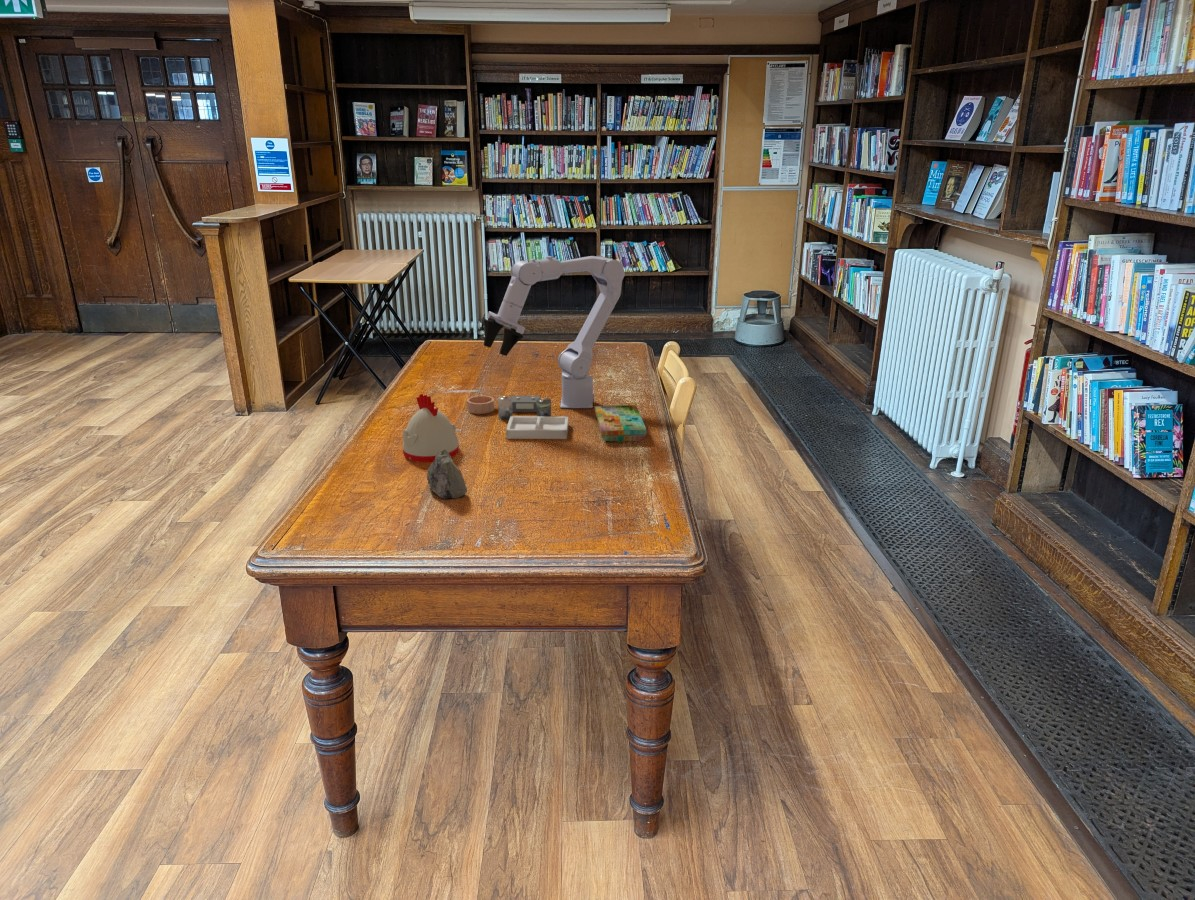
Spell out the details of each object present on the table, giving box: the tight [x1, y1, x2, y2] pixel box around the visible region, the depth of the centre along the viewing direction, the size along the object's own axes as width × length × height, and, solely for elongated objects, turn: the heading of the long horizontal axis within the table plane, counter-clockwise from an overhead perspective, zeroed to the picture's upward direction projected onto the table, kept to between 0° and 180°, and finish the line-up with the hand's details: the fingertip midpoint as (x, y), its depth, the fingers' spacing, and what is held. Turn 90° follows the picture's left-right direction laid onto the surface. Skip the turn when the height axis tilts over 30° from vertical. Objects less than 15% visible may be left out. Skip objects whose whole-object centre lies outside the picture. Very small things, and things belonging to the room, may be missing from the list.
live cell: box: [536, 397, 552, 416], centre depth 227 cm, size 4×4×6 cm
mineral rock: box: [426, 449, 468, 500], centre depth 184 cm, size 13×11×10 cm
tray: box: [505, 415, 569, 440], centre depth 220 cm, size 16×11×2 cm
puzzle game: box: [594, 404, 647, 442], centre depth 221 cm, size 12×5×20 cm
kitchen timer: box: [402, 393, 460, 463], centre depth 204 cm, size 14×14×15 cm
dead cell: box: [497, 394, 514, 421], centre depth 229 cm, size 4×4×6 cm
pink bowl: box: [466, 395, 496, 415], centre depth 236 cm, size 8×8×3 cm
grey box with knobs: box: [511, 395, 541, 413], centre depth 237 cm, size 8×6×3 cm
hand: (494, 350), depth 223 cm, fingers open, 7 cm apart
